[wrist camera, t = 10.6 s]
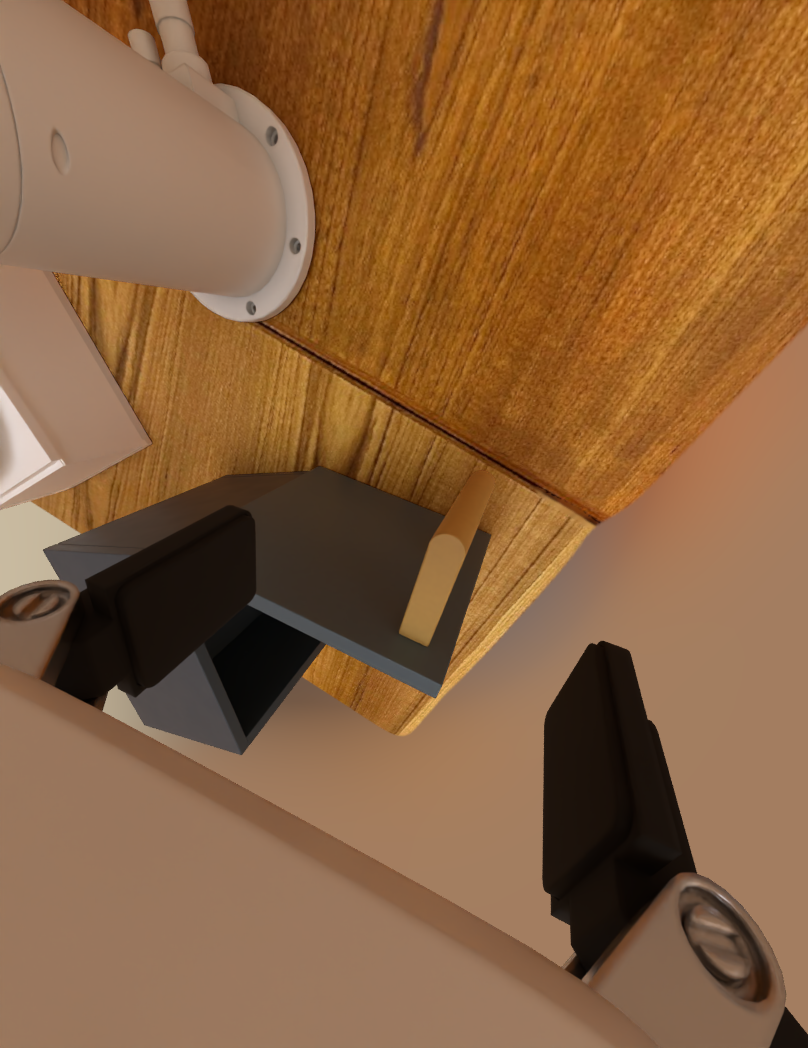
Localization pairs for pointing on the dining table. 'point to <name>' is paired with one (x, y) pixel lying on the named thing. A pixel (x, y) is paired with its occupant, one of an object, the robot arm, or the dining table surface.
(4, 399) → the butter dish
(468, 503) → the door
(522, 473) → the dining table surface
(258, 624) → the cupboard
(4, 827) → the robot arm
